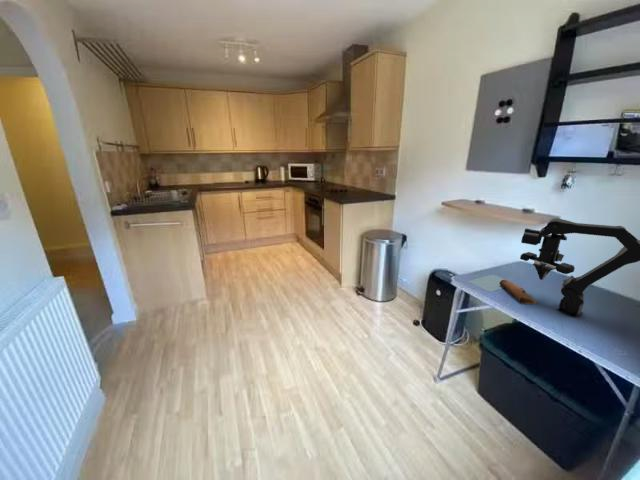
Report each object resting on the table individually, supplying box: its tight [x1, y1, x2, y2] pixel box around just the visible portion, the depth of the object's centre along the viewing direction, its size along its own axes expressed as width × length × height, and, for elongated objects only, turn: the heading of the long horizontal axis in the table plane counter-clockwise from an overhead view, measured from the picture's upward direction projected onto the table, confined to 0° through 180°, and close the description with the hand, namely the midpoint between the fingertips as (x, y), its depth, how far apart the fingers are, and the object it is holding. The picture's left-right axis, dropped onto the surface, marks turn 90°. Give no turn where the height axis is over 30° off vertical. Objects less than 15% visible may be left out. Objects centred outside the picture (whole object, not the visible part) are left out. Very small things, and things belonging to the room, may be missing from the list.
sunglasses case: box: [500, 279, 537, 305], centre depth 134 cm, size 18×7×7 cm
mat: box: [467, 273, 516, 293], centre depth 147 cm, size 13×20×1 cm, turn 113°
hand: (541, 279), depth 123 cm, fingers closed
